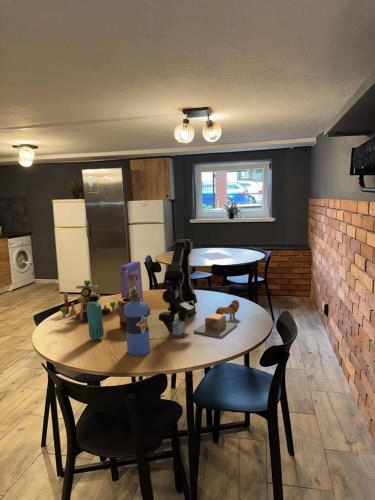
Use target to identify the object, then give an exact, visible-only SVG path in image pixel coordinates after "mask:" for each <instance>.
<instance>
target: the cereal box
mask: <svg viewBox="0 0 375 500" xmlns="http://www.w3.org/2000/svg"><path fill="white" fill-rule="evenodd" d="M118 268H119V269H118V271H119V282H120V283H119V284H120V294H121V295H120V296H121V299H122V298H128V297H130V296H131V295H130V293H131V292H132V291H133V290H137V291H138V292H139V293H140V294H139V295H140V297H141V299H142V301H143V300H144V297H143V281H142V267H141V261H131V262H129V263H127V264H124V265H121V266H119V267H118Z"/></svg>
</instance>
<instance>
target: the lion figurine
mask: <svg viewBox="0 0 375 500" xmlns="http://www.w3.org/2000/svg"><path fill="white" fill-rule="evenodd" d="M239 309H240V301H239V300H237V299H233V300H232V301H231V303H230V305H228V306H219V307H217V309H216V310H215V314H221V315H229V318H230V319H233V320H236V313H237V312H238V311H239Z"/></svg>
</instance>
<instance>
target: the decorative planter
mask: <svg viewBox="0 0 375 500" xmlns="http://www.w3.org/2000/svg"><path fill="white" fill-rule="evenodd" d="M140 301H142V302H144V301H143V300H142V299H141V300H140ZM129 302H130V297H128V298H122V297H121V298H120V299H118V300H117V302H116V306H115V311H114V312H115V314H116V315H117V316H118V317H119V325H120V328H121V329H122V330H125V331H126V326H127V324H126V319H125V315H124V305H126V304H128V303H129ZM150 314H151V310H150V308H149V306H148V316H147V318H148V317H149V316H150Z"/></svg>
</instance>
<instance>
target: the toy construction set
mask: <svg viewBox="0 0 375 500" xmlns="http://www.w3.org/2000/svg"><path fill="white" fill-rule="evenodd" d="M83 283H84V285H76V286H75V289H80V290H81V291H80V296H78V298H77V300H78V301H77V302H78V303H80V309H79V310H80V311H79V314H77V313H78V312H77V310H76V309H75V302H71V304H70V306H71V309H70V308H69V307H70V306H69V294H68V292H66V291H65V292H63V300H64V306H63V307H61V308H60V313H62V318H66V315H67V314H69V316H72V317H73V316H75V319H76V320H75V321H81V322H84V323H88V315H87V305H88V304H89V303H92V302H89V301H88V297H89V296H91V295H97V296H98V300H97V301H94V302H98V303H99V300H101V295H100V294H97V293H96V292H95V291H94V289H98V288H99V285H97V284H96V285H93V284H92V285H91V280H90V279H87V280H84V281H83ZM109 306H110V307H111V309H110V308H109V307H108V306H107V305H106V304H104V305H103V308H101V309H102V316H107V315H109V314H110V313H111V312H115V309H116V306H117V302H116V301H110V303H109ZM111 310H112V311H111Z"/></svg>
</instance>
